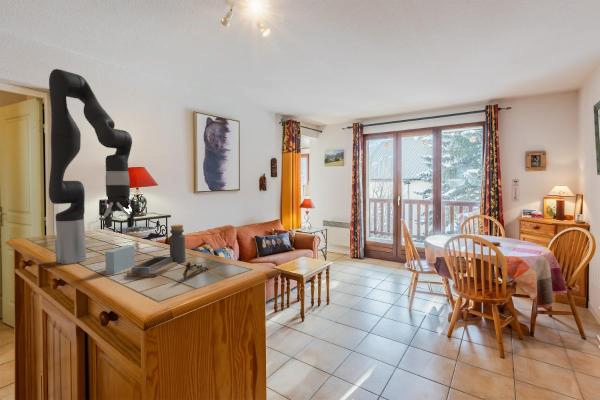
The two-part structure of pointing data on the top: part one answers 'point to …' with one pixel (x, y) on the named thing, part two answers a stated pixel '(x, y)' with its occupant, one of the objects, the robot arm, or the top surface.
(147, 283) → the top surface
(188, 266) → the figurine
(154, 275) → the grey piece
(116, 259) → the door
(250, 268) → the top surface
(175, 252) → the bottle
